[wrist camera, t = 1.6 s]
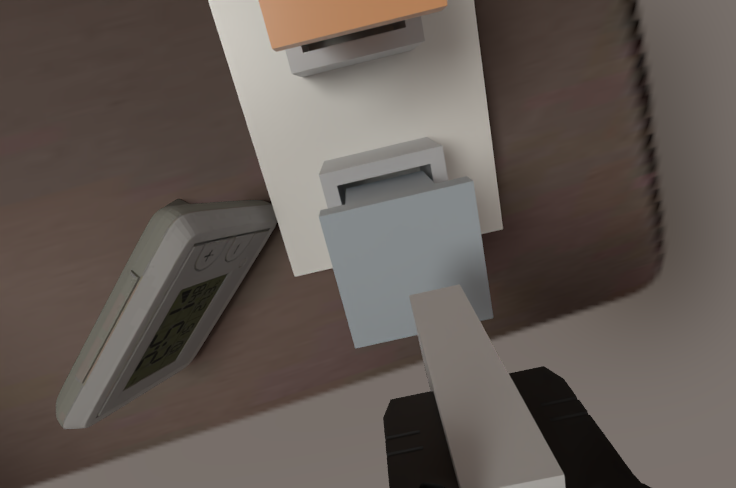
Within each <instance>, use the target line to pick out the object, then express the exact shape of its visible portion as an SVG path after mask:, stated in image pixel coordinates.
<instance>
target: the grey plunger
mask: <svg viewBox="0 0 736 488" xmlns="http://www.w3.org/2000/svg"><path fill="white" fill-rule="evenodd" d="M319 220H320V223H321V227H322V230H323V234H324V238H325V241H326V245H327V248H328V252H329V256H330V259H331V263H332V266H333V270H334V274H335V277H336V281H337V284H338V288H339V292H340V295H341V299H342V302H343V306H344V310H345V313H346V317H347V320H348V324H349V328H350V331H351V335H352V338H353V342H354V346H355V348H360V347H364V346H369V345H373V344H378V343H382V342H387V341H391V340H396V339H400V338H405V337H410V336H414V335H418V334H417V329H416V325H415V320H414V316H413V311H412V307H411V302H410V297H409V295H413V294H418V293H422V292H427V291H432V290H436V289H441V288H445V287H450V286H454V285H459V284H460V286H461V288H462V289H463V291H464V293H465V295H466V297H467V298H468V300H469V302H470V304H471V306H472V308H473V309H474V311H475V313H476V315H477V317H478V319H479V320H480V321H482V320H487V319H491V318H493V312H492V305H491V298H490V291H489V284H488V277H487V271H486V264H485V257H484V250H483V243H482V237H481V230H480V223H479V216H478V209H477V202H476V196H475V189H474V182H473V180H471V179H470V178H469V177H467V176H465V177H461V178H456V179H452V180H448V181H443V182H439V183H434V182H433V181H432V180H431V179H430V178H429V177H428V176H427V175H426V174H425V173H424V172H423V171H418V172H414V173H410V174H406V175H401V176H397V177H393V178H388V179H384V180H380V181H376V182H371V183H367V184H363V185H359V186H354V187H350V188H346V199H345V205H341V206H336V207H332V208H328V209H323V210H320V214H319Z"/></svg>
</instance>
